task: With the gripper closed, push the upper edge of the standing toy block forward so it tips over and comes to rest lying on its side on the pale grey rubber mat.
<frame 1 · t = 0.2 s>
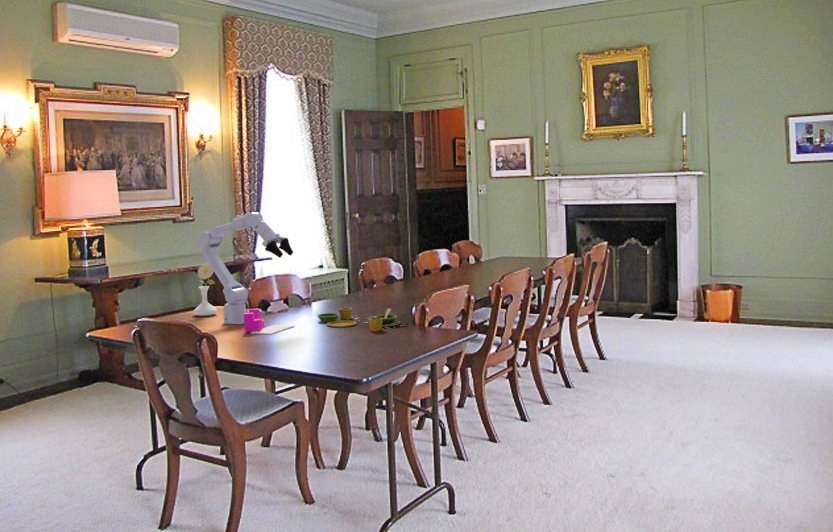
hand: (286, 255, 349), 31 cm above the table, tool tilted 45°, fingers open, 7 cm apart
toy block: (255, 328, 348), on the table, touching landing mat
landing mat: (272, 330, 344), on the table
tableware set: (360, 325, 354), on the table
flower in vase: (206, 316, 387), on the table
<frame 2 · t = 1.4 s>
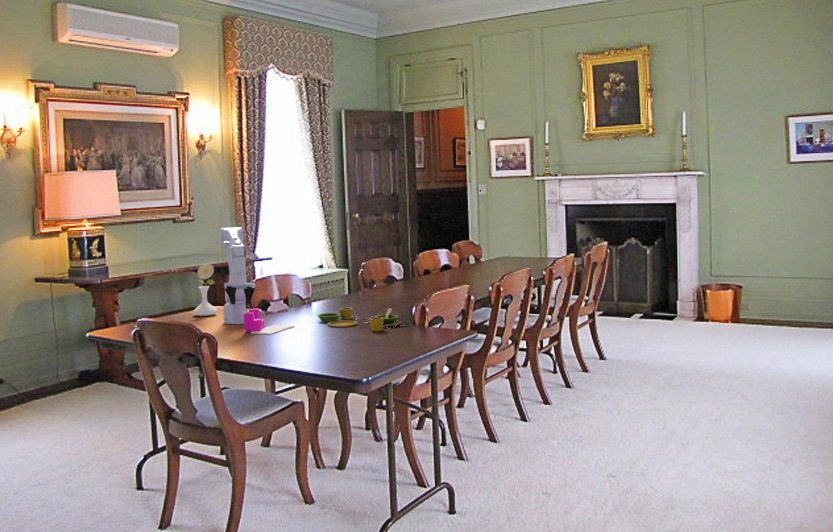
hand: (240, 304, 349), 10 cm above the table, tool pointing down, fingers open, 7 cm apart
nothing on the table moved.
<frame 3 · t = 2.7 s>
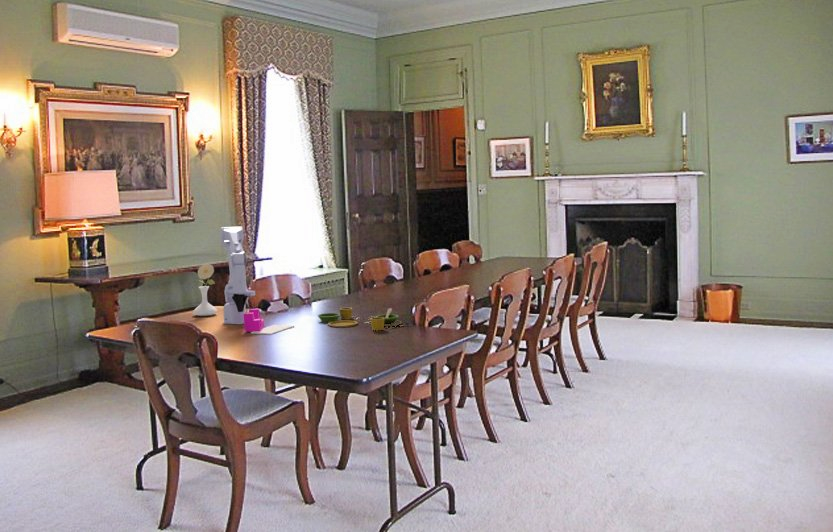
hand: (240, 311, 350), 7 cm above the table, tool pointing down, fingers closed
nothing on the table moved.
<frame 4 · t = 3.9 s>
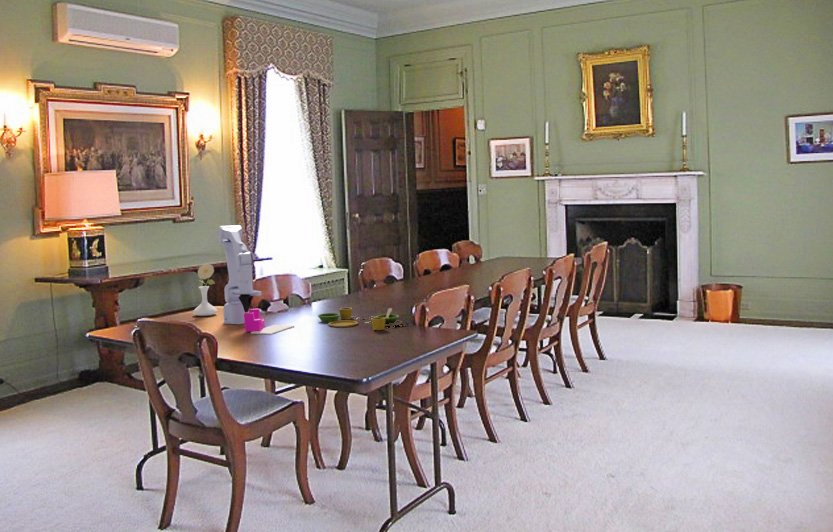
hand: (246, 312, 349), 7 cm above the table, tool pointing down, fingers closed, pressing on toy block
toy block: (256, 328, 347), on the table, touching gripper, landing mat
everything else where it was.
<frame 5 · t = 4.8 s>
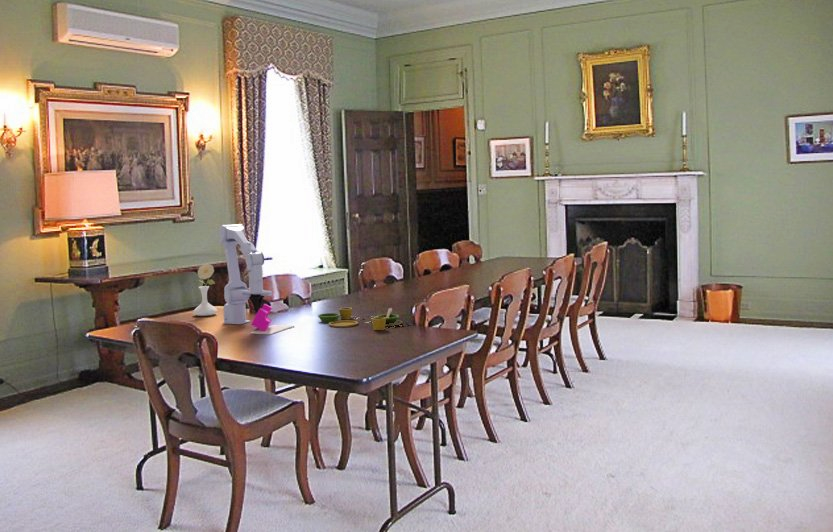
hand: (257, 312, 346), 7 cm above the table, tool pointing down, fingers closed, pressing on toy block
toy block: (260, 325, 346), point 2 cm above the table, touching gripper, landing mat
everything else where it was.
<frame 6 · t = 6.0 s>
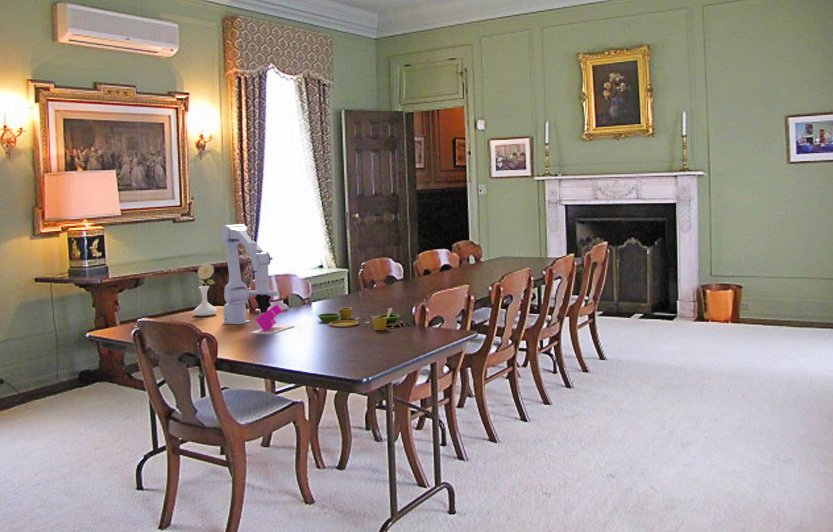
hand: (263, 312, 345), 7 cm above the table, tool pointing down, fingers closed
toy block: (263, 322, 345), point 3 cm above the table, touching gripper, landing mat
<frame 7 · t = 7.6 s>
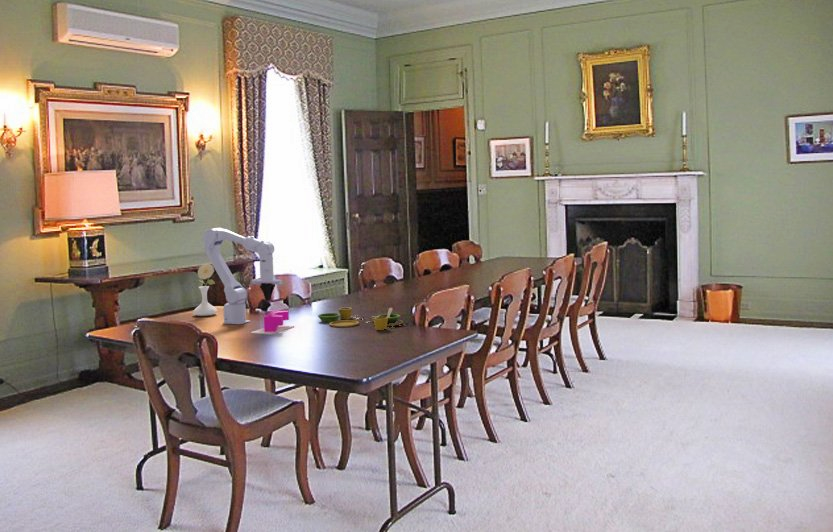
hand: (268, 300, 359), 10 cm above the table, tool pointing down, fingers closed
toy block: (267, 321, 345), point 4 cm above the table, touching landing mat
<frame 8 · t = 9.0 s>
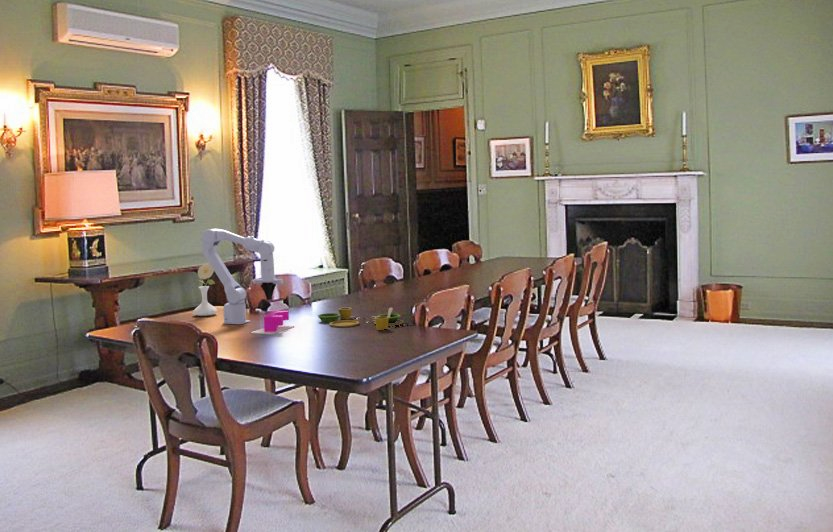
hand: (269, 299, 361), 10 cm above the table, tool pointing down, fingers closed
at the end: toy block tilted 90°; toy block inside the target area (0.8 cm from its centre), point 3.6 cm above the table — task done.
